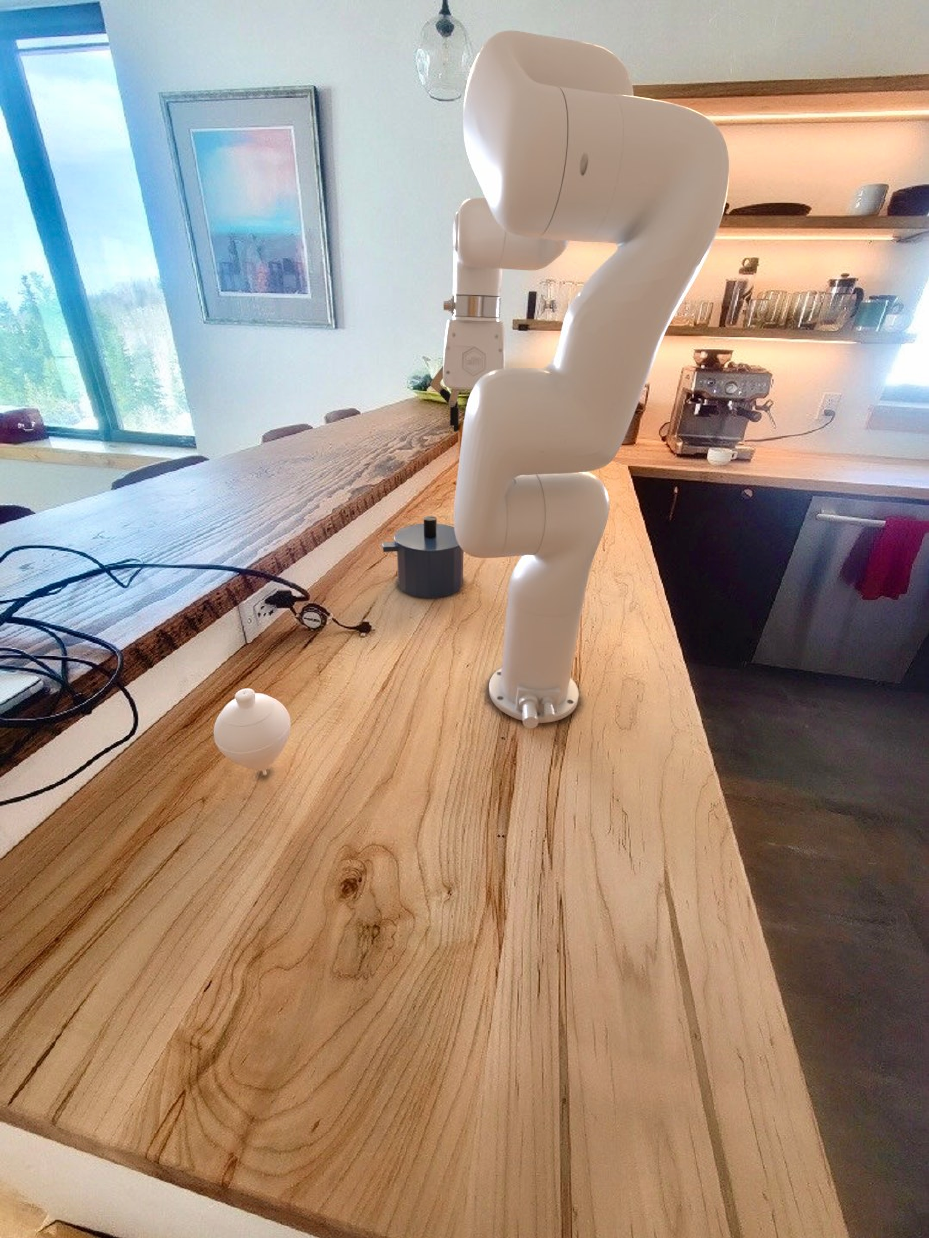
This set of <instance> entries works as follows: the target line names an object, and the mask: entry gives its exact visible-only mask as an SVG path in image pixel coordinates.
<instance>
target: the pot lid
mask: <svg viewBox="0 0 929 1238" xmlns="http://www.w3.org/2000/svg"><path fill="white" fill-rule="evenodd" d="M437 520H438V519H437V517H436V516H433V515H431V516H429V515H427V516H424V517H423V523H418V524H412V525H411V524H410V525H407V526H405V527H402V528H400V529H399V530H397V531H396V532H395V533H394V534H393V542H395V543H396V544H397V545H398V546H400V547H402V548H404V549H407V550H410V551H415V552H423V553H439V552H446V551H451V550H454V549H457V548H459V547H460V546H459V544H458V542H457V539H456V536H455V531H454V526H451V525H448V524H444V523H443V524H442V523H437V522H438V521H437Z"/></svg>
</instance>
